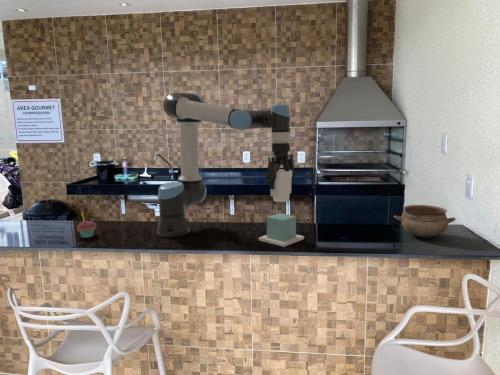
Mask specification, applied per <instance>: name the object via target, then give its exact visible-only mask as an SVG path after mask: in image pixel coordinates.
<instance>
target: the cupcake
mask: <svg viewBox="0 0 500 375" xmlns="http://www.w3.org/2000/svg"><path fill="white" fill-rule="evenodd" d="M81 217H82V222H79V223H78V224H77V225H76V230H77V231H78V232H79V233H80V236H81V237H82V238H84V239H85V238H91V237H93V235H94V232H95V229H97V226H98V225H97V224H96V223H95V221H91V220H86V219H85V216H84V212H81Z"/></svg>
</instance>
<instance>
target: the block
mask: <svg viewBox="0 0 500 375" xmlns="http://www.w3.org/2000/svg"><path fill="white" fill-rule="evenodd" d="M266 235H267V237H268V238H272V239H277V240H281V241H285V240H287V239H290V238H293V237H295V236H296V235H297V217H296V215H292V214H286V213H280V212H279V213H276V214H273V215H269V216H266Z"/></svg>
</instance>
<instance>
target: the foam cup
mask: <svg viewBox="0 0 500 375" xmlns="http://www.w3.org/2000/svg"><path fill="white" fill-rule="evenodd" d="M291 179H293V178H292V170H289V171H287V172H286V171H285V170H284V168H283V169H282V168H279V170H278V172H276V179H275V181H276V182H277V197H273V201H274V202H277V203H286V202H287V203H288V202H289V199H290V194H291V193H290V187H291V188H292V185H291Z"/></svg>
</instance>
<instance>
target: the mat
mask: <svg viewBox="0 0 500 375" xmlns="http://www.w3.org/2000/svg"><path fill="white" fill-rule="evenodd" d="M304 239H305V235H300V234H296V236H295V237H293V238H290V239H287V240H285V241H281V240H277V239H272V238H268V237H267V234H265V235H262V236H259V237H258V241H260V242H264V243H268V244H273V245H277V246H278V247H279V246H280V247H283V248H284V247H287V246H289V245H292V244H294V243H295V244H296V243H298V242H300V241H302V240H304Z"/></svg>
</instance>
